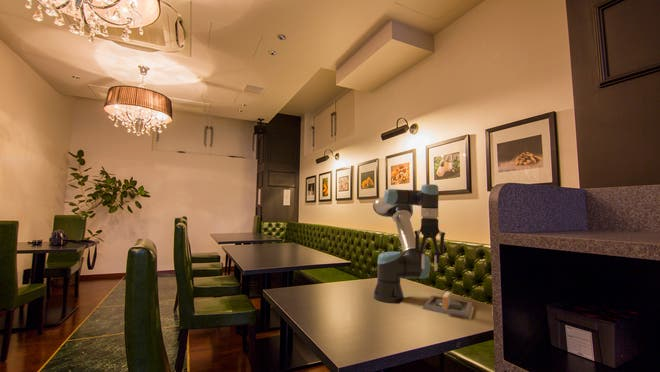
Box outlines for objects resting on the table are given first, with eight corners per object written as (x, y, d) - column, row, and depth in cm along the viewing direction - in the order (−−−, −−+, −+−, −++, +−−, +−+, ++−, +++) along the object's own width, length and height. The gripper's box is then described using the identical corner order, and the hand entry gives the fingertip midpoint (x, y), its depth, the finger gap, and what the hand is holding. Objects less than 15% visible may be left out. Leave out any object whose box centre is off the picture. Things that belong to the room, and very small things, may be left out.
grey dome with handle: (438, 302, 139) (438, 286, 139) (462, 307, 133) (462, 290, 134) (431, 312, 124) (431, 295, 125) (458, 318, 119) (458, 299, 119)
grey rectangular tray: (421, 311, 128) (421, 304, 129) (430, 301, 144) (430, 294, 144) (471, 321, 118) (471, 313, 119) (474, 309, 134) (474, 302, 134)
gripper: (408, 217, 133) (407, 268, 131) (449, 218, 124) (449, 273, 122) (412, 217, 139) (411, 265, 137) (451, 218, 130) (451, 270, 128)
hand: (429, 269), depth 130 cm, fingers open, 5 cm apart
